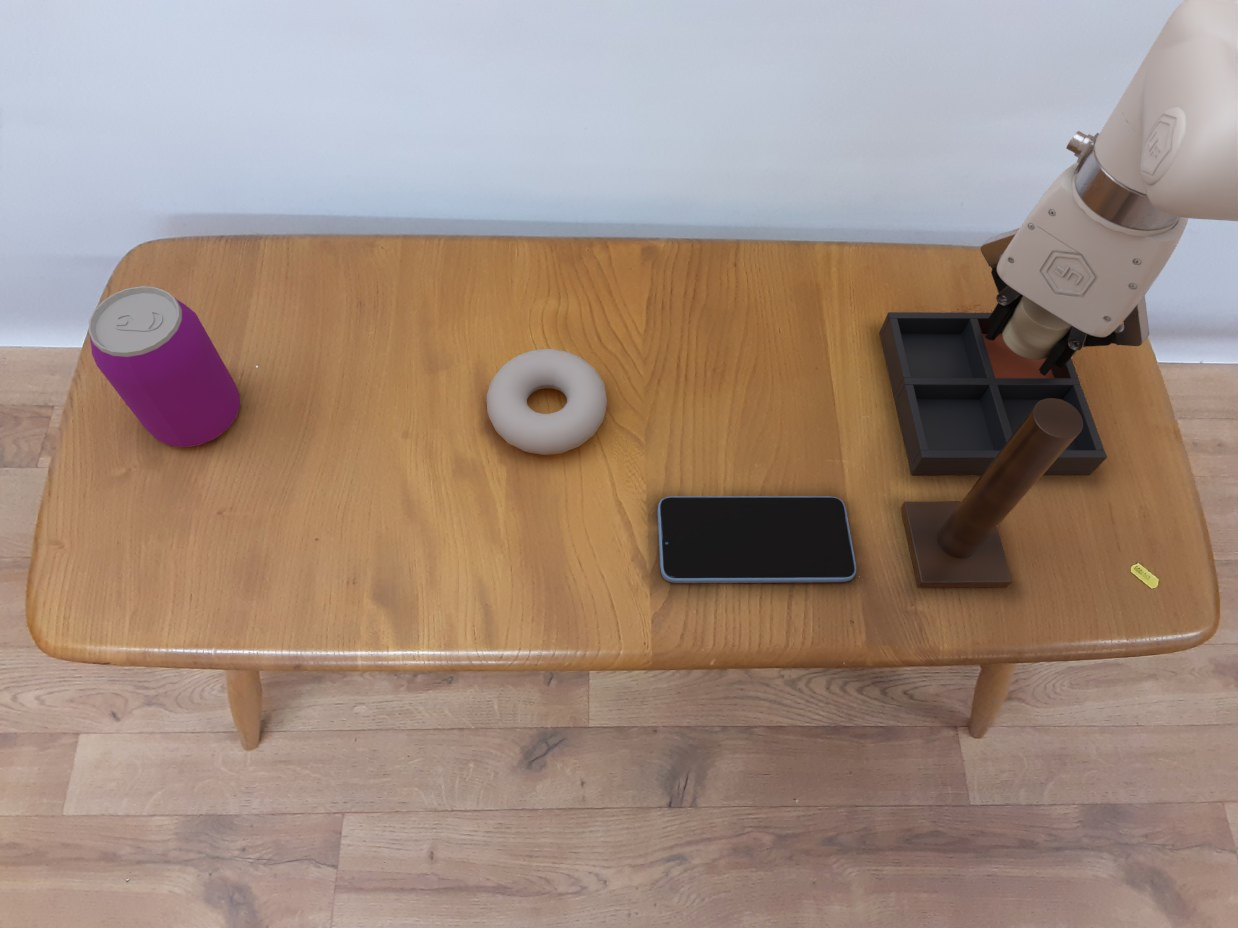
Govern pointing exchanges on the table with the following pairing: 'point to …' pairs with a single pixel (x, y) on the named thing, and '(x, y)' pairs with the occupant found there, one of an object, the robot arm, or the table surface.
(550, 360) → the donut
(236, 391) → the beverage can
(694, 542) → the smartphone
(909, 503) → the stand
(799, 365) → the table surface
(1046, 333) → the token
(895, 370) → the grid
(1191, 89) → the robot arm
